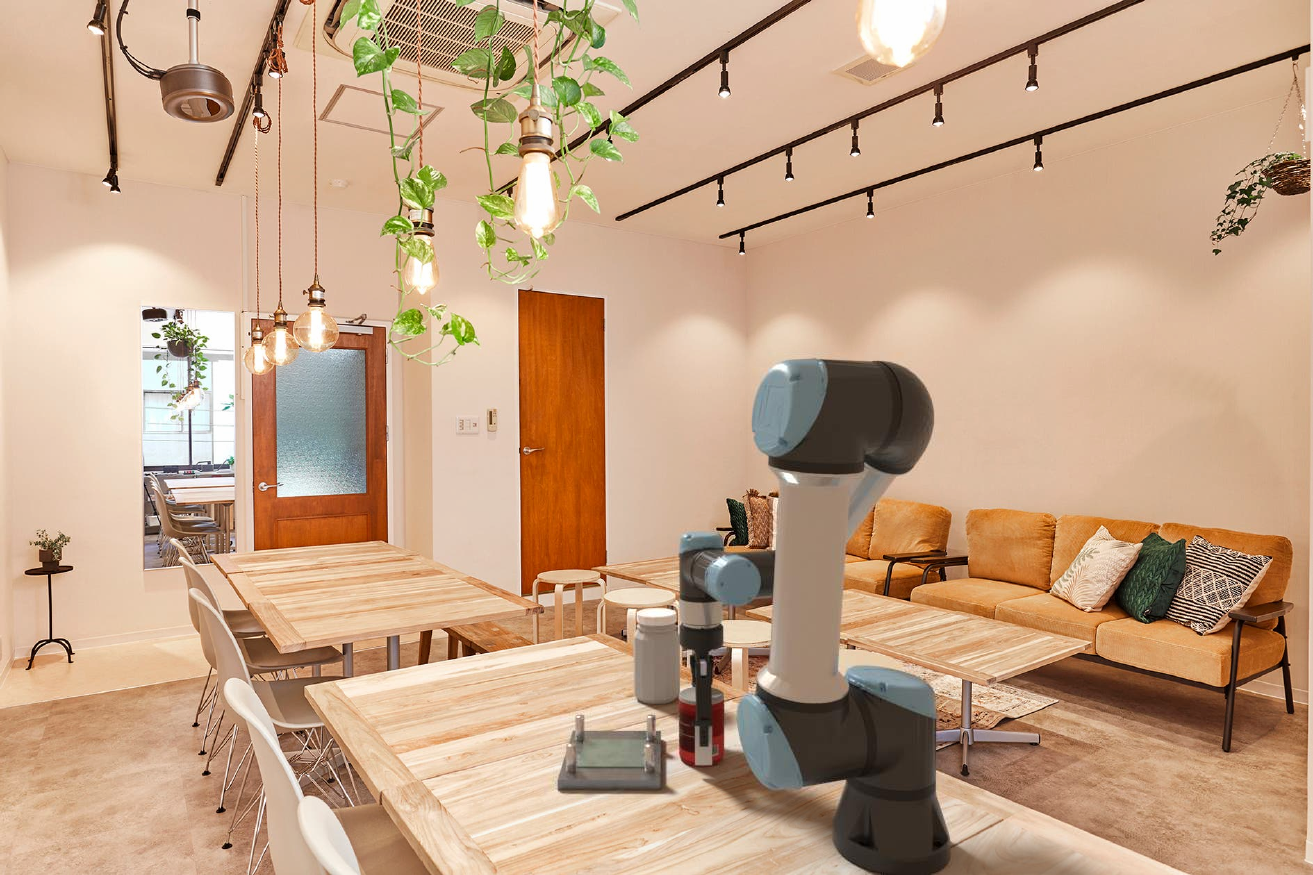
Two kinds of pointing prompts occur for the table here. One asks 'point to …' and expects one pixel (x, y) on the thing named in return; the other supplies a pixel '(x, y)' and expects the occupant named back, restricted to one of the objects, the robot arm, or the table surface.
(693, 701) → the canned food
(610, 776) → the plate
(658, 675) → the jar
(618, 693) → the table surface
